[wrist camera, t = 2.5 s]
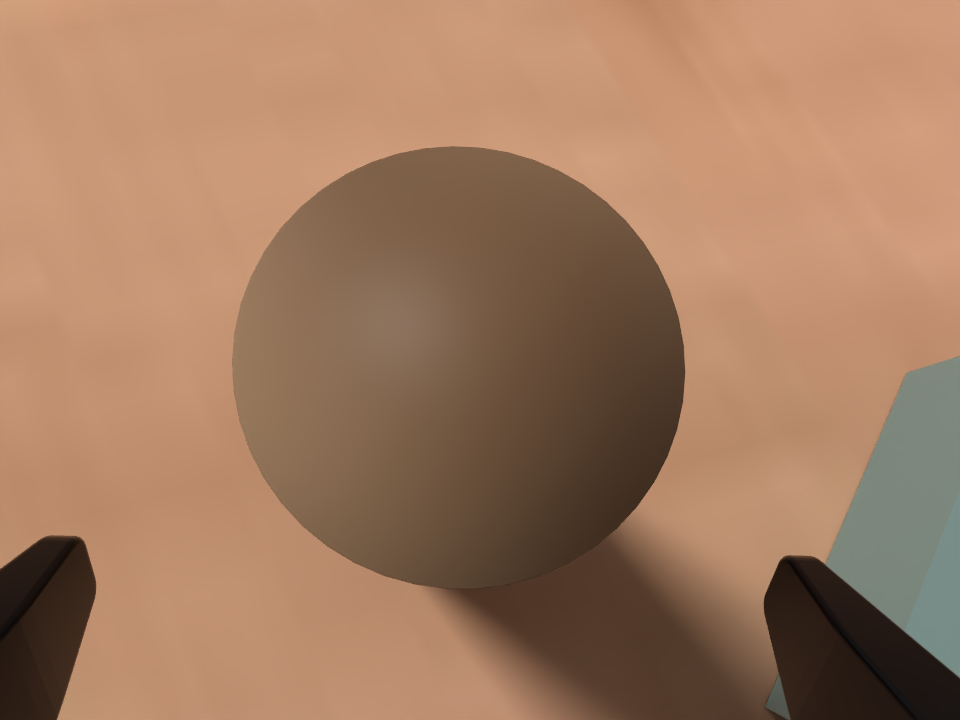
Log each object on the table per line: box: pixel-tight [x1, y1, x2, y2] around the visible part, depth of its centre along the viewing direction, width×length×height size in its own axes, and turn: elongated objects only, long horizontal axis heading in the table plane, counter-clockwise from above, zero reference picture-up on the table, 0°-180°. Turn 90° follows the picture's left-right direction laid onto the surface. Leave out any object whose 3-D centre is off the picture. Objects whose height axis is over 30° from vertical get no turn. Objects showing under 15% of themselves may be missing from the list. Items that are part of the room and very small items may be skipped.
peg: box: [232, 146, 685, 589], centre depth 13 cm, size 4×4×12 cm
